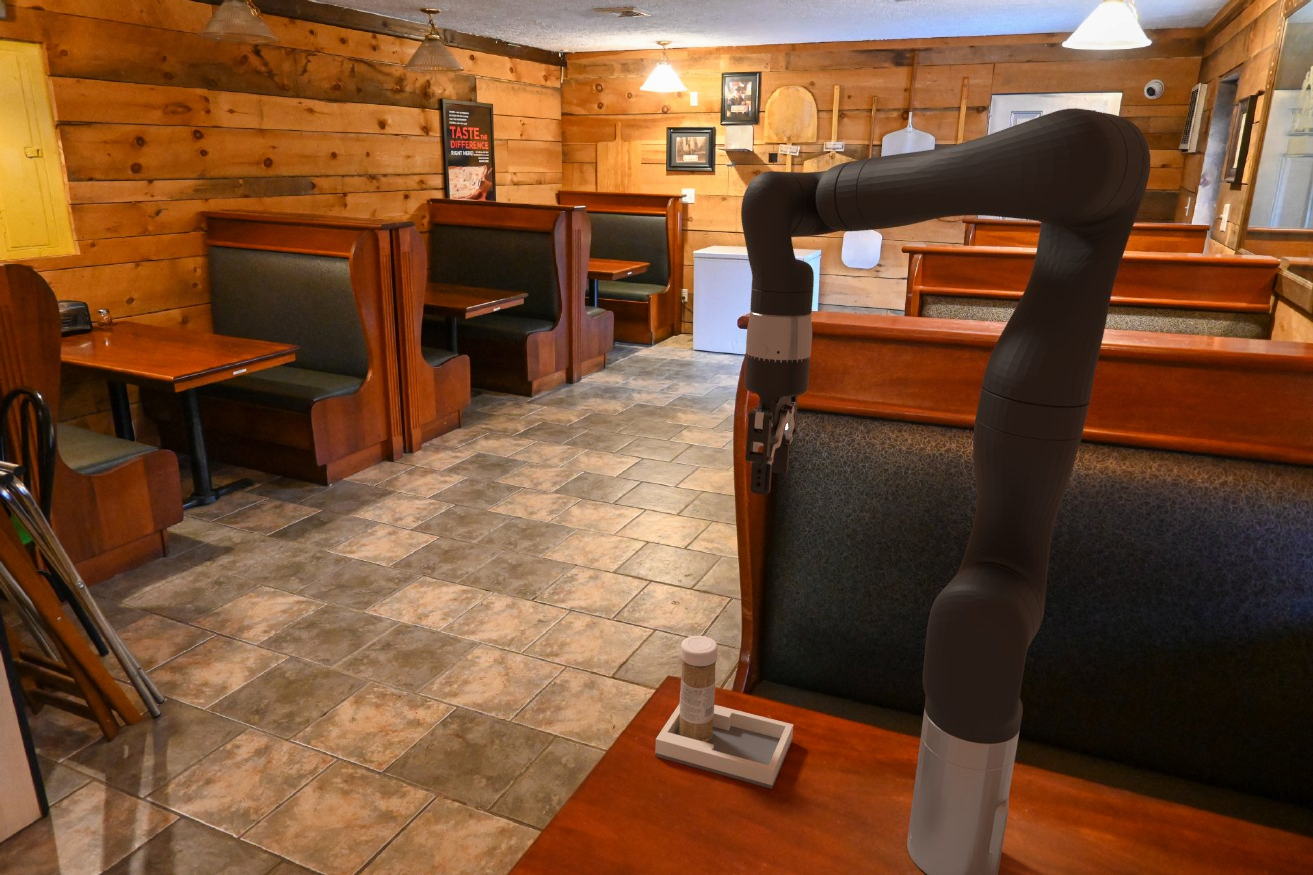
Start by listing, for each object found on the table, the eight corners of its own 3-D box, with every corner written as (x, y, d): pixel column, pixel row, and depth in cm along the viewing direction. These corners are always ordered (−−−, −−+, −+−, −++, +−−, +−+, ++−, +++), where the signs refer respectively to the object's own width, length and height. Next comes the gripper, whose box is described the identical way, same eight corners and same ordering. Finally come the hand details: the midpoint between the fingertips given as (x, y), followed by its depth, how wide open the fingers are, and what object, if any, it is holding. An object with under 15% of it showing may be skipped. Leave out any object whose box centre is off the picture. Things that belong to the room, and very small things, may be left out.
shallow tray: (792, 741, 111) (793, 724, 111) (772, 788, 103) (773, 770, 102) (683, 712, 117) (683, 696, 116) (655, 756, 108) (655, 738, 107)
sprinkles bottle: (696, 721, 114) (700, 630, 110) (720, 738, 111) (725, 645, 107) (670, 734, 111) (673, 641, 108) (694, 751, 108) (698, 656, 104)
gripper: (795, 365, 93) (785, 506, 97) (822, 344, 105) (812, 470, 110) (728, 358, 95) (722, 496, 100) (763, 338, 108) (755, 461, 113)
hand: (769, 482), depth 105 cm, fingers open, 8 cm apart
